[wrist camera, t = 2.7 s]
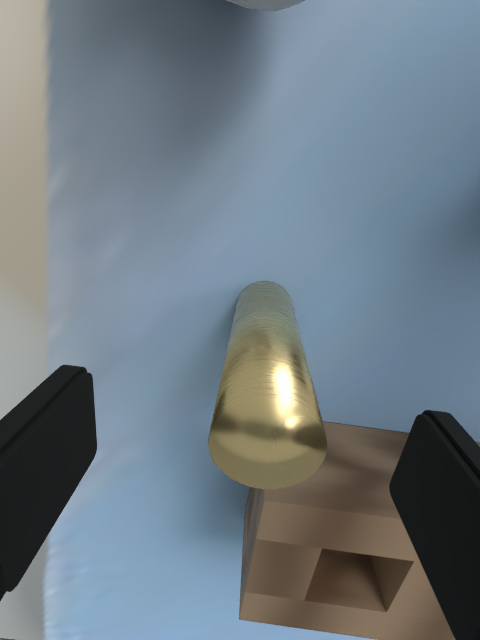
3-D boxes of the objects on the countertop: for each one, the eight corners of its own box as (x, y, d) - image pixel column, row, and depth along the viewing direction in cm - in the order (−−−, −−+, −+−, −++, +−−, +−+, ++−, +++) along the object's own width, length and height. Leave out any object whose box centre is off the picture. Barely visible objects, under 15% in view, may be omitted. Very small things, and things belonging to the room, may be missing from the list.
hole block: (244, 519, 24) (238, 619, 18) (263, 413, 20) (264, 500, 14) (537, 560, 24) (621, 674, 18) (615, 461, 20) (752, 568, 14)
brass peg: (239, 277, 17) (213, 390, 8) (296, 285, 17) (340, 407, 7) (233, 329, 18) (204, 480, 9) (286, 336, 18) (313, 495, 9)
